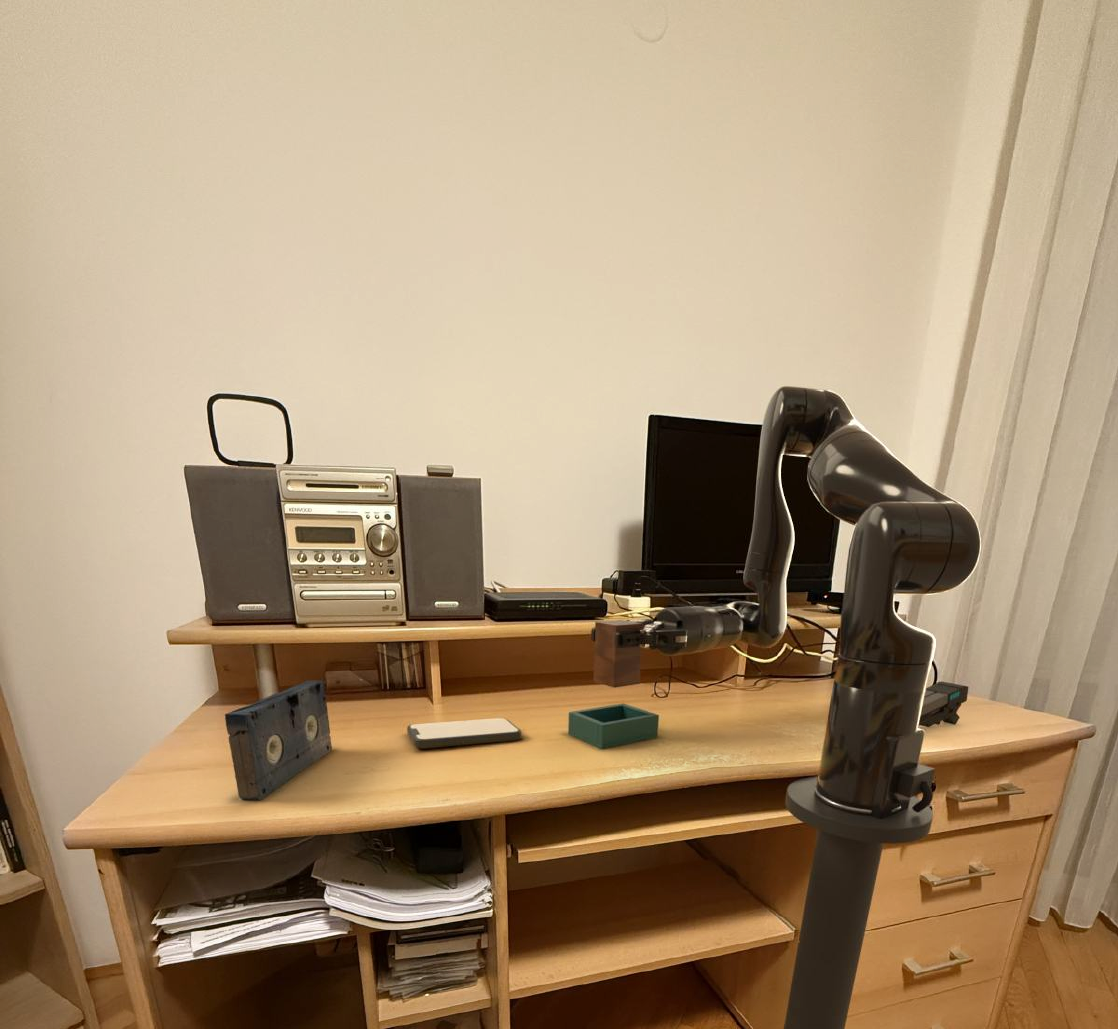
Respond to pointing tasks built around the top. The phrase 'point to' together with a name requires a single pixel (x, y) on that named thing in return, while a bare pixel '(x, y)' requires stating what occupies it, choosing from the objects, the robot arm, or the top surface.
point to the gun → (942, 703)
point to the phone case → (462, 732)
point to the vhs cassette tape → (278, 738)
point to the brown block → (616, 655)
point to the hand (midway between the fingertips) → (604, 637)
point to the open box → (613, 725)
